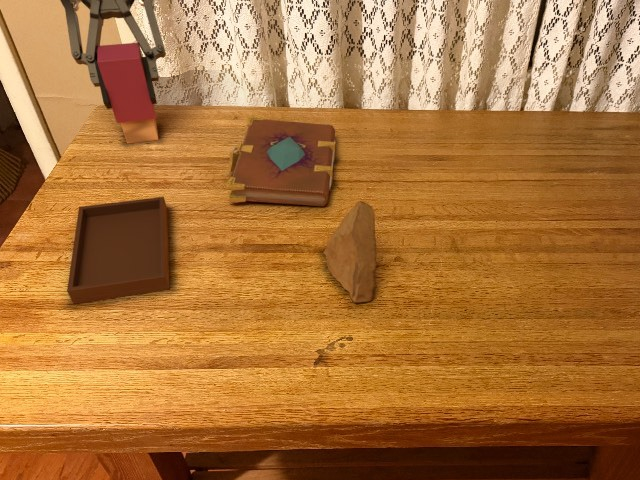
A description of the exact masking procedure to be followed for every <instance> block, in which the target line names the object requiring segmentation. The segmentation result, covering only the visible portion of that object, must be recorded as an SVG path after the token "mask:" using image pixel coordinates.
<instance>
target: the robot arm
mask: <svg viewBox="0 0 640 480" xmlns="http://www.w3.org/2000/svg"><path fill="white" fill-rule="evenodd" d="M59 1H60V3H61V5H62V6H63V8H64V12H65V18H66V25H67V32H68V37H69V38H68V40H69V46H70V52H71V56H72V58H73V60H74V61H75V62H76V64H78V65H85V66H87V69H88V74H89V77H90V79H89V80H90V81H91V83H92V85H93V86H94V88H95V87H96V88H99V89H100V94H101V98H102V103H103V105H104V106H105V108H106V110H112V106H111V103H110V100H109V97H108V94H107V91H106V87H105V84H104V81H103V78H102V75H101V72H100V69H99V66H98V62H97V54H98V46H101V38H102V31H103V26H104V23H105V20H110V19H113V18H114V19H123V20H124V22H125V24H126V25H127V26H128V28H129V30H130V32H131V34H132V35H133V37H134V39H135V41H136V43H139V46H140V50H141V52H142V53H143V55H144V56H142V57H141V59H142V64H143V68H144V73H145V77H146V82H147V87H148V92H149V96H150V100H151V102H152V104H154V105H157V104H158V102H157V101H158V100H157V96H156V91H155V87H154V83H153V82H159V81H160V75H159V71H158V66H157V60H159V59H160V58H165V57H166V56H167V52H166V49H165V45H164V42H163V38H162V34H161V32H160V27H159V24H158V21H157V20H158V19H157V17H156V13H155V2H156V0H138V1H139V4H140V6H142V7H143V8H144V10H145V15H146V17H147V21H148V24H149V28H150V31H151V35H152V38H153V42H154V47H151V46H150V44H149V42H148V40H147V38H146V37H145V35H144V33H143V32H142V31H143V30H141V28H140V26H139V24H138V22H137V21H136V19H135V17H134V16H133V13H132V11H131V8H132V6H133V4H134V2H135V1H136V0H59ZM80 3H82V4H84V6H85V7H86V8H87V9H88V10H89V24H88V30H87V31H88V33H87V40H86V47H85V48H86V49H85V52H84V50H83V49H84V48H83V43H82V36H81V28H80V23H79V22H80V21H79V17H78V14H77V12H78V11H79V9H80V5H79V4H80Z"/></svg>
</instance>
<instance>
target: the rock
mask: <svg viewBox="0 0 640 480" xmlns="http://www.w3.org/2000/svg"><path fill="white" fill-rule="evenodd" d="M323 255H325V259H326V265H327V270H328V271H329V272H330V273H331V275H332V277H333V278H334V279H335V280H336V281H337V282H338V283H340V285H341V287H342V288H343V289H344V290H346V291H347V292H348V293H349V296H350V300H352V302H353V303H356V304H359V303H369V302H371V301H372V300H373V297H374V291H375V289H376V272H377V238H376V221H375V210H374V207H373V206H372V205H370V204H369V203H367V202H364V201H363V200H359V201H357V202H356V204H354V206H353V207H352V208H350V210H349V211H348V212H347V213H346V214H345V216H344V217H343V219H342V220H341V221H340V223H339V225H338V227H337V228H336V229H335V230H334V231H333V232H332V234H331V235H330V237H329V239H328V241H327V243H326V248H325V249H324V251H323Z"/></svg>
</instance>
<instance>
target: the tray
mask: <svg viewBox="0 0 640 480" xmlns="http://www.w3.org/2000/svg"><path fill="white" fill-rule="evenodd" d="M77 211H78V212H77V218H76V224H75V225H76V226H75V233H74V238H73V239H74V240H73V246H72V254H71V261H70V268H69V274H68V281H67V282H68V283H67V288H66V292H67V294H68V296H69V298H70V300H71V302H72V304H73V305H76V304H82V303H84V304H85V303H89V302H97V301H103V300H104V301H105V300H110V299H116V298H122V297H129V296H135V295H143V294H148V293H155V292H161V291H168V290H171V286H170V285H171V284H170V251H169V217H168V216H169V214H168V207H167V203H166V199H165V197H164V196H159V197H151V198H149V197H148V198H142V199H133V200H132V199H131V200H125V201H116V202H108V203H99V204H91V205H83V206H78V210H77Z"/></svg>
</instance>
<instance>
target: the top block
mask: <svg viewBox="0 0 640 480" xmlns="http://www.w3.org/2000/svg"><path fill="white" fill-rule="evenodd" d="M141 57H143V54H142V50H141V48H140V46H139V43H138V42H129V43H117V44H116V43H114V44H103V45H100V46H98V54H97V62H98V66H99V69H100V72H101V75H102V78H103V81H104V84H105V87H106V91H107V94H108V97H109V100H110V103H111V106H112V109H111V110H112V113H113V116H114V120H115V122H116V124H121V123H123V122H132V121H141V120H150V119H155V120H157V115H156V108H155V104H152V102H151V100H150V96H149V92H148V87H147V82H146V77H145V73H144V68H143V64H142V59H141Z"/></svg>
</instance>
